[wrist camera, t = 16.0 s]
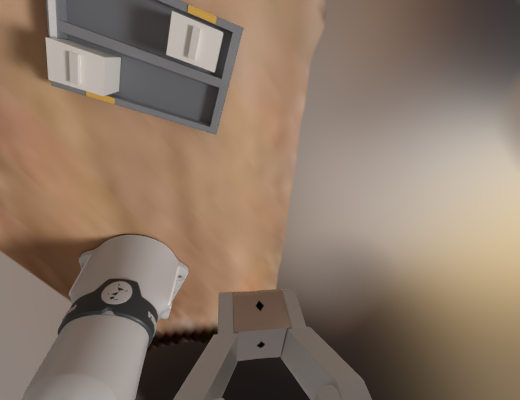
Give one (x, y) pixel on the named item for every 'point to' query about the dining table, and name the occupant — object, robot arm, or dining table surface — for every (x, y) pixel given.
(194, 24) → the white sliding block
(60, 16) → the switch board
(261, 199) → the dining table surface
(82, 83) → the white cube-shaped block
